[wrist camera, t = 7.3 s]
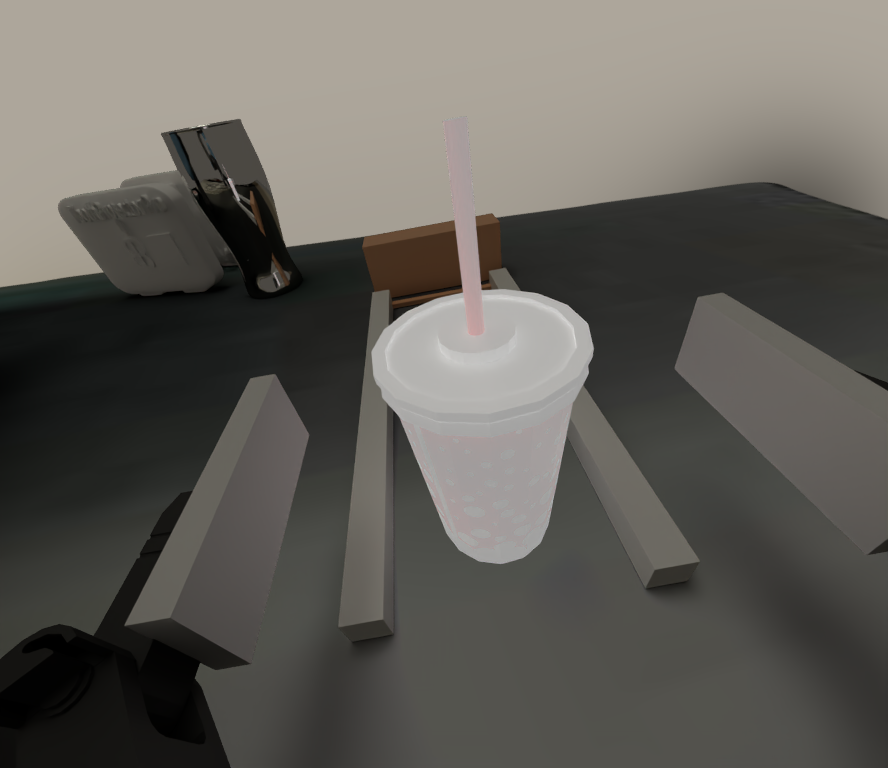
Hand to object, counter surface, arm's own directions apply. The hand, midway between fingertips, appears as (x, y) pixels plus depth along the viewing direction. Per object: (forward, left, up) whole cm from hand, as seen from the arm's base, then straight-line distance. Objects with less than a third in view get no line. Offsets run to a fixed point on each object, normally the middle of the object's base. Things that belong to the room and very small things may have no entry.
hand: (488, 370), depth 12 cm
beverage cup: (-1, 0, -8) cm, 8 cm away
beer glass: (0, +36, -8) cm, 37 cm away
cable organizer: (-7, +50, -8) cm, 51 cm away
